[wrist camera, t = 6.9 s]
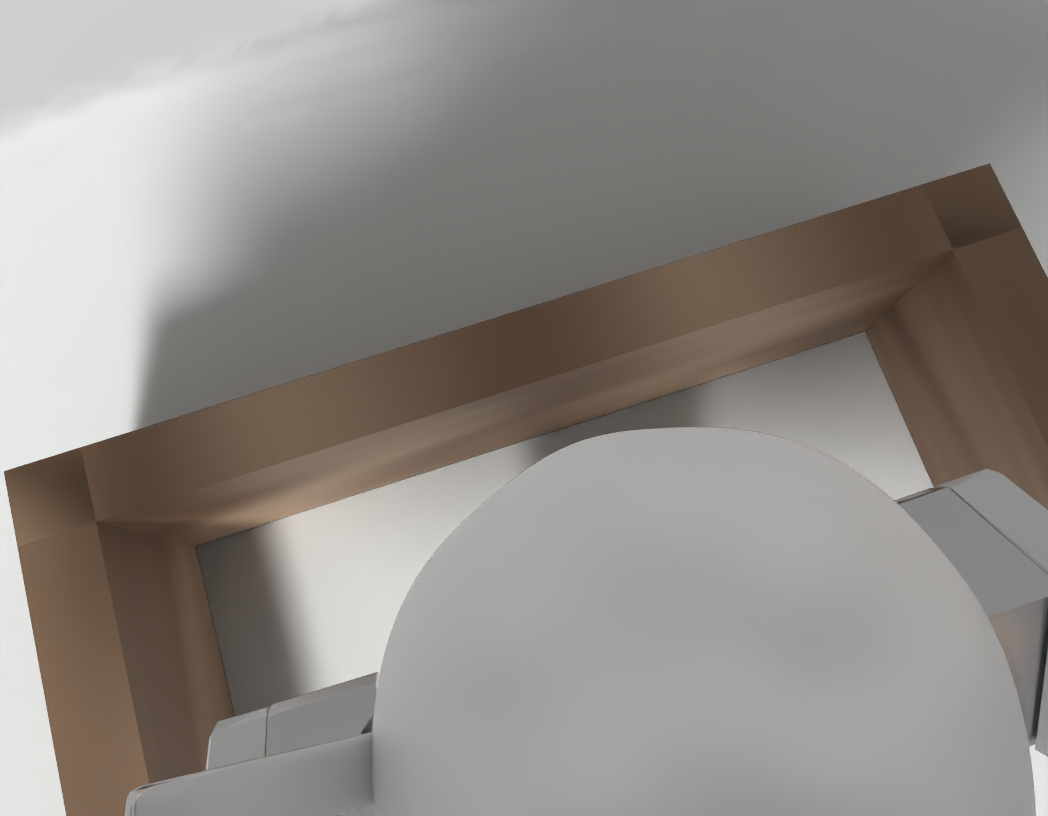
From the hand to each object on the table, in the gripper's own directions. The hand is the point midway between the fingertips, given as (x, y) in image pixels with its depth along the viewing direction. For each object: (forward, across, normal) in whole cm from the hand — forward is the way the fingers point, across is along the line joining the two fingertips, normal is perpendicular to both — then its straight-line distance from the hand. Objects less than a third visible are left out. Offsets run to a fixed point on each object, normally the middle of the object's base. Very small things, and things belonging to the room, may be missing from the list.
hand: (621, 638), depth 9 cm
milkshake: (+4, 0, +5) cm, 6 cm away
